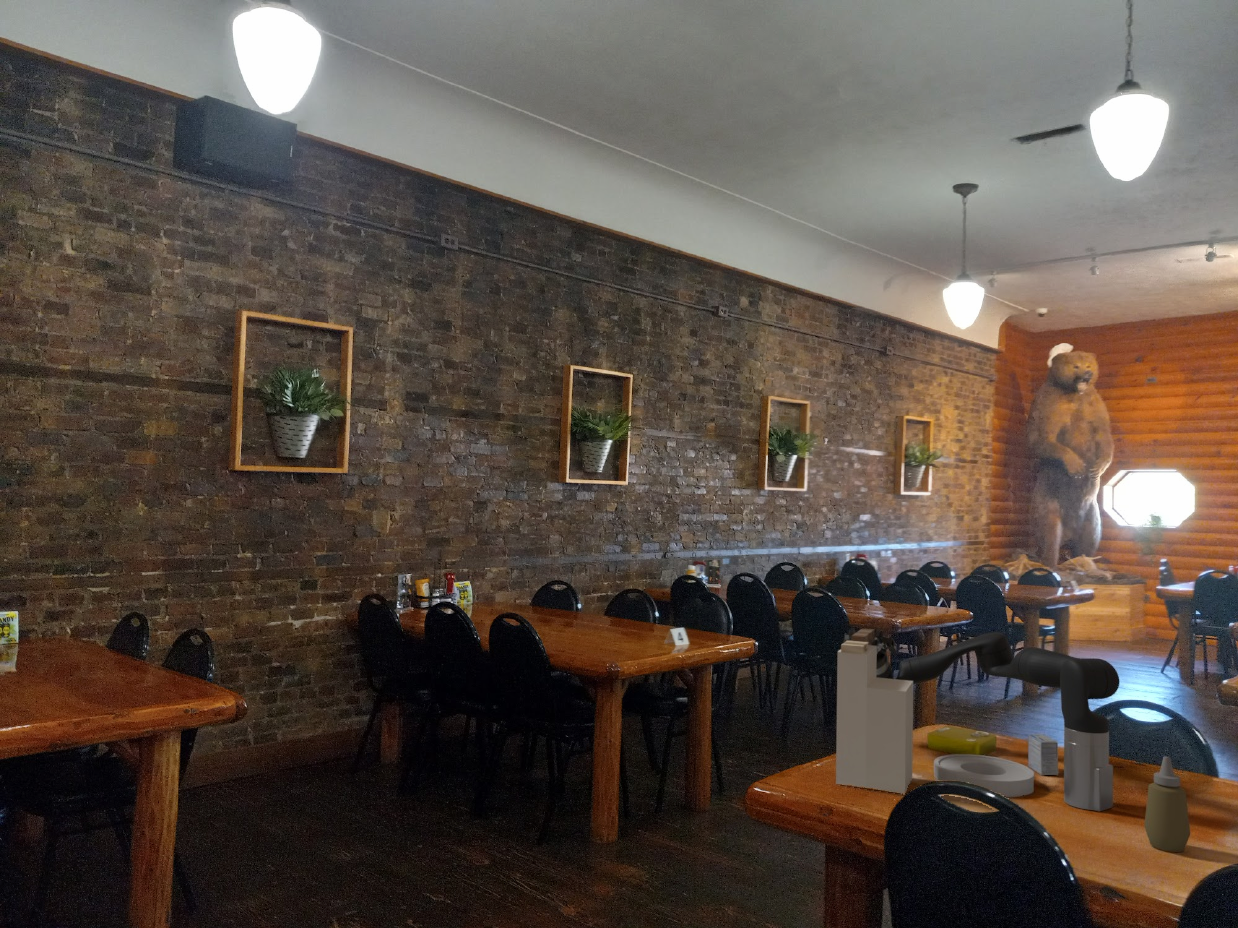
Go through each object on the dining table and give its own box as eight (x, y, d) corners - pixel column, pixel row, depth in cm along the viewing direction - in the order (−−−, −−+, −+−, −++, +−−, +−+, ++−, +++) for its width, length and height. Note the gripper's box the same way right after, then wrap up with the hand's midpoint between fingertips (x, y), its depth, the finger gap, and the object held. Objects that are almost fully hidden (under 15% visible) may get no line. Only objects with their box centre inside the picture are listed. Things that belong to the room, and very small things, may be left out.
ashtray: (983, 766, 242) (983, 750, 242) (1056, 792, 221) (1056, 775, 221) (913, 774, 233) (913, 758, 233) (982, 802, 212) (982, 785, 212)
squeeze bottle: (1174, 840, 189) (1173, 751, 190) (1200, 855, 181) (1199, 762, 182) (1135, 839, 189) (1135, 751, 190) (1159, 854, 181) (1159, 762, 181)
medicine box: (1058, 776, 233) (1058, 741, 234) (1040, 775, 233) (1040, 741, 234) (1044, 767, 241) (1044, 734, 241) (1027, 766, 241) (1027, 733, 242)
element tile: (947, 739, 269) (947, 723, 270) (998, 750, 259) (998, 732, 259) (924, 748, 258) (924, 731, 259) (977, 760, 248) (977, 742, 248)
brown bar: (858, 639, 244) (858, 628, 244) (878, 641, 242) (878, 629, 242) (841, 652, 222) (841, 639, 222) (862, 653, 220) (863, 641, 220)
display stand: (847, 768, 235) (848, 643, 237) (912, 777, 229) (913, 648, 230) (836, 784, 222) (837, 651, 223) (904, 794, 215) (906, 657, 216)
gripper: (899, 672, 247) (892, 648, 234) (845, 667, 252) (835, 643, 240) (901, 646, 250) (894, 620, 237) (848, 641, 256) (838, 616, 243)
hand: (865, 632), depth 238 cm, fingers open, 6 cm apart
